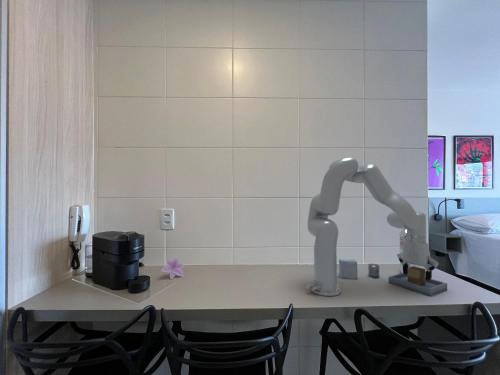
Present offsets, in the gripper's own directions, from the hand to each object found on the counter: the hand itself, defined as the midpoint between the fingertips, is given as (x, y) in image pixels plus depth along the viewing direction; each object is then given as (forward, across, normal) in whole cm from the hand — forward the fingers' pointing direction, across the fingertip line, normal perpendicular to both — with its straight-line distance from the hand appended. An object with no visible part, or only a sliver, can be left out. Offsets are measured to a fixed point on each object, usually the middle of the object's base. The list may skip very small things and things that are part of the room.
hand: (416, 276), depth 116 cm
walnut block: (+3, 0, 0) cm, 3 cm away
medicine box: (+5, -24, -17) cm, 30 cm away
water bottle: (+5, -13, +16) cm, 21 cm away
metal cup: (+5, -18, -5) cm, 19 cm away
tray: (+4, 0, 0) cm, 4 cm away
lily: (+5, -69, -94) cm, 117 cm away
